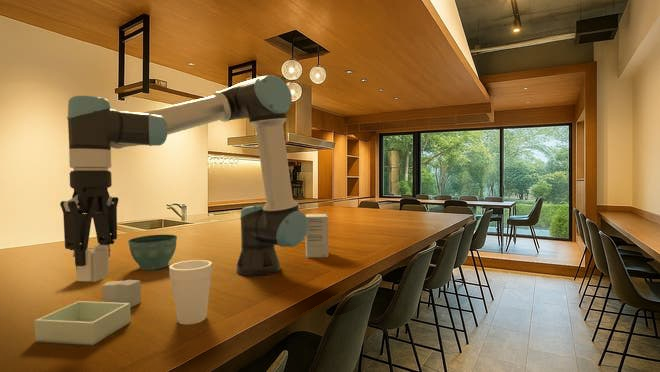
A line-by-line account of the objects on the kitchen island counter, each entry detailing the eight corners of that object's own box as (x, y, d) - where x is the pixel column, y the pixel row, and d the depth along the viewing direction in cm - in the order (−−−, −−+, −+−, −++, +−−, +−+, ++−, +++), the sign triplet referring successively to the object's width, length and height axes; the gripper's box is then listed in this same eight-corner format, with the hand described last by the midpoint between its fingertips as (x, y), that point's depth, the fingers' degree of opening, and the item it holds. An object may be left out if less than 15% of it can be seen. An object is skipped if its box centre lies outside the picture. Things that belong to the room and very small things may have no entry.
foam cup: (178, 311, 90) (177, 260, 89) (216, 310, 90) (215, 259, 90) (164, 328, 80) (163, 270, 80) (206, 326, 81) (205, 269, 80)
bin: (130, 322, 84) (130, 303, 83) (93, 345, 72) (92, 323, 72) (79, 319, 85) (78, 301, 85) (35, 341, 74) (34, 320, 74)
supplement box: (305, 252, 155) (304, 213, 154) (326, 252, 156) (326, 213, 155) (306, 258, 145) (305, 216, 144) (328, 257, 146) (328, 216, 145)
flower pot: (128, 275, 122) (127, 244, 121) (129, 265, 136) (129, 236, 136) (179, 269, 129) (178, 239, 129) (175, 259, 144) (175, 233, 143)
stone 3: (141, 302, 96) (140, 280, 96) (129, 308, 92) (128, 285, 92) (128, 301, 97) (127, 279, 97) (116, 306, 93) (115, 284, 93)
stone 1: (107, 276, 80) (107, 249, 80) (95, 281, 76) (95, 253, 76) (90, 275, 80) (89, 249, 80) (77, 281, 76) (76, 253, 76)
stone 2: (124, 298, 100) (123, 280, 100) (119, 302, 96) (118, 284, 96) (108, 299, 99) (107, 281, 99) (102, 304, 95) (102, 285, 95)
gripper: (105, 170, 86) (107, 266, 87) (37, 169, 69) (41, 289, 70) (133, 170, 85) (136, 267, 86) (72, 169, 68) (76, 290, 69)
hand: (93, 276), depth 78 cm, fingers closed on stone 1, 4 cm apart
